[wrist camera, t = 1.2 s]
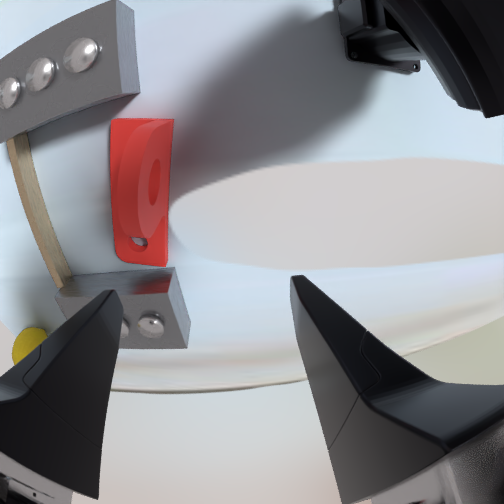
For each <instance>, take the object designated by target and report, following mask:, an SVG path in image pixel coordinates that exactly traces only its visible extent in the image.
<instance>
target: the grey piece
mask: <svg viewBox="0 0 504 504" xmlns="http://www.w3.org/2000/svg"><path fill="white" fill-rule="evenodd" d="M136 93H140V86H139V77H138V67H137V56H136V43H135V27H134V10H132V9H131V8H129V7H128V6H127V5H125V4H124V3H122V2H121V1H119V0H110V1H107V2H105V3H102V4H100V5H97V6H95V7H92V8H90V9H87V10H85V11H83V12H81V13H78V14H76V15H74V16H72V17H70V18H68V19H66V20H64V21H62V22H60V23H58V24H56V25H54V26H52V27H50V28H49V29H47V30H45V31H43V32H42V33H40V34H38V35H36V36H35V37H33V38H31V39H30V40H28V41H27V42H25V43H24V44H22V45H20V46H19V47H17V48H16V49H14V50H13V51H12V52H10V53H9V54H7V55H6V56H5V57H3V58H2V59H0V144H1V143H3V142H5V141H6V142H7V147H8V152H9V157H10V161H11V165H12V169H13V173H14V177H15V181H16V184H17V188H18V191H19V195H20V198H21V201H22V204H23V207H24V210H25V213H26V216H27V219H28V222H29V224H30V227H31V230H32V232H33V235H34V237H35V240H36V242H37V245H38V247H39V250H40V252H41V254H42V257H43V259H44V261H45V263H46V265H47V268H48V270H49V272H50V274H51V276H52V278H53V280H54V282H55V284H56V286H57V288H61V289H60V290H59V292H58V293H57V295H56V296H55V299H56V301H57V303H58V305H59V306H60V308H61V310H62V312H63V313H64V315H65V317H66V318H67V320H68V319H69V318H71V317H72V316H73V315H74V314H75V313H77V312H78V311H79V310H80V309H81V308H83V307H84V306H85V305H86V304H88V303H89V302H90V301H91V300H92V299H94V298H95V297H96V296H97V295H99V294H100V293H101V292H102V291H104V290H107V289H114V290H116V292H117V294H118V296H119V298H120V300H121V303H122V305H123V308H124V314H123V321H122V328H121V336H120V344H119V348H123V349H184V348H187V346H188V339H189V332H190V325H191V321H190V318H189V315H188V312H187V308H186V305H185V302H184V298H183V295H182V292H181V288H180V285H179V281H178V277H177V274H176V270H175V267H173V268H161V269H149V270H137V271H125V272H112V273H100V274H87V275H74V276H72V273H71V271H70V269H69V267H68V264H67V262H66V260H65V258H64V255H63V253H62V250H61V248H60V245H59V243H58V240H57V238H56V235H55V232H54V230H53V227H52V224H51V221H50V219H49V216H48V213H47V210H46V207H45V204H44V200H43V197H42V194H41V190H40V187H39V183H38V180H37V176H36V172H35V168H34V164H33V160H32V156H31V151H30V147H29V142H28V136H27V132H30V131H32V130H34V129H36V128H38V127H40V126H43V125H45V124H47V123H49V122H52V121H54V120H57V119H59V118H62V117H64V116H67V115H69V114H72V113H75V112H77V111H80V110H83V109H86V108H89V107H92V106H95V105H98V104H101V103H104V102H107V101H111V100H114V99H117V98H121V97H125V96H128V95H132V94H136Z"/></svg>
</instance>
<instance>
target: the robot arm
mask: <svg viewBox="0 0 504 504" xmlns="http://www.w3.org/2000/svg"><path fill="white" fill-rule="evenodd" d="M340 3H341V4H340V5H339V6H338V11H339V20H340V29H341V34H342V35H343V36H344V40H345V52H346V58H347V59H348V60H349V61H352V62H359V63H366V64H373V65H380V66H385V67H391V68H396V69H401V70H406V71H410V72H419V71H420V60H426V61H427V62H428V64H429V65H430V67H431V68H432V70H433V72H434V73H435V75H436V76H437V78H438V80H439V81H440V83H441V85H442V86H443V88H444V90H445V91H446V93H447V94H448V95H449V96H450V97H451V98H452V99H453V100H456V102H457V104H458V106H460V107H463V108H466V109H470V110H475V111H481V112H483V115H484V117H485V118H491V117H495V116H499V115H504V0H340ZM351 53H354V54H355V58H352V56H351ZM413 64H414V65H415V69H414V67H413ZM290 301H291V307H292V313H293V320H294V326H295V333H296V338H297V342H298V346H299V349H300V353H301V356H302V360H303V363H304V367H305V370H306V373H307V377H308V380H309V384H310V387H311V390H312V394H313V398H314V401H315V405H316V409H317V412H318V416H319V419H320V423H321V426H322V430H323V434H324V437H325V441H326V444H327V448H328V450H329V451H328V452H329V456H330V460H331V463H332V467H333V471H334V475H335V478H336V482H337V486H338V490H339V494H340V498H341V502H342V504H354V503H357V502H361V501H364V500H368V499H371V502H372V504H504V385H473V384H455V383H445V382H441V381H438V380H436V379H434V378H432V377H430V376H428V375H427V374H425V373H424V372H423V371H421V370H420V369H418V368H417V367H415V366H414V365H412V364H411V363H410V362H408V361H407V360H405V359H404V358H402V357H401V356H399V355H398V354H397V353H395V352H394V351H393V350H391V349H390V348H389V347H387V346H386V345H385V344H383V343H382V342H381V341H380V340H379V339H377V338H376V337H375V336H374V335H373V334H372V333H370V332H369V331H367V329H366V328H365V327H363V326H362V325H361V324H360V323H359V322H358V321H356V320H355V319H354V318H353V317H352V316H351V315H349V314H348V313H347V312H346V311H345V310H344V309H343V308H341V307H340V306H339V305H338V304H337V303H336V302H334V301H333V300H332V299H331V298H330V297H328V296H327V295H326V294H325V293H324V292H323V291H321V290H320V289H319V288H318V287H317V286H316V285H314V284H313V283H312V282H311V281H310V280H309V279H307V278H306V277H305V276H304V275H295V276H291V278H290ZM123 314H124V308H123V305H122V303H121V300H120V298H119V296H118V294H117V292H116V290H114V289H107V290H104V291H102V292H101V293H100V294H99V295H97V296H96V297H95V298H94V299H92V300H91V301H90V302H89V303H88V304H86V305H85V306H84V307H83V308H81V309H80V310H79V311H78V312H77V313H75V314H74V315H73V316H72V317H71V318H69V319H68V320H67V321H66V322H65V323H63V324H62V325H61V326H60V327H59V328H58V329H56V330H55V331H54V332H53V333H52V334H51V335H49V336H48V337H47V338H46V339H45V340H44V341H43V342H42V344H41V343H40V344H39V345H38V346H37V347H36V348H35V349H34V350H32V351H31V352H30V353H29V354H28V355H27V356H26V357H24V358H23V359H22V360H21V361H19V362H18V363H17V364H16V365H15V366H13V367H12V368H11V369H10V370H8V371H7V372H6V373H5V374H3V375H2V376H1V377H0V504H71V500H72V493H73V492H76V493H78V494H81V495H84V496H87V497H90V498H93V499H97V500H98V497H99V479H100V465H101V454H102V443H103V434H104V426H105V420H106V413H107V407H108V401H109V395H110V389H111V384H112V378H113V373H114V368H115V364H116V359H117V354H118V350H119V344H120V336H121V328H122V321H123Z"/></svg>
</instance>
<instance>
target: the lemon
mask: <svg viewBox="0 0 504 504" xmlns="http://www.w3.org/2000/svg"><path fill="white" fill-rule="evenodd" d="M47 337H48V336H47V335H46V333H45V330H44V329H38V328H35V327H30V328H26V329H24V330H23V331H22V332H21V333H20V334H19V335H18V336H17V338H16V340H15V342H14V345H13V350H12V359H13V362H14V365H16V364H17V363H18V362H19V361H21V360H22V359H23V358H24V357H26V356H27V355H28V354H29V353H30V352H31V351H32V350H34V349H35V348H36V347H37V346H38V345H39V344H40V343H41V344H42V342H43V341H44V340H45V339H46V338H47Z"/></svg>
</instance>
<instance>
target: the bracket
mask: <svg viewBox="0 0 504 504" xmlns="http://www.w3.org/2000/svg"><path fill="white" fill-rule="evenodd" d="M173 125H174V119H149V118H117V119H113V120H111V138H110V181H111V204H112V219H113V231H114V241H115V250H116V254H117V256H118V257H119V258H120V259H121V260H122V261H124V262H127V263H135V264H143V265H152V266H161V267H166V264H167V261H168V201H169V179H170V162H171V148H172V136H173ZM131 237H138V238H146V240H147V242H148V245H146V246H139V245H137V244H135V243H134V242H133V240H132V238H131Z"/></svg>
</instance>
